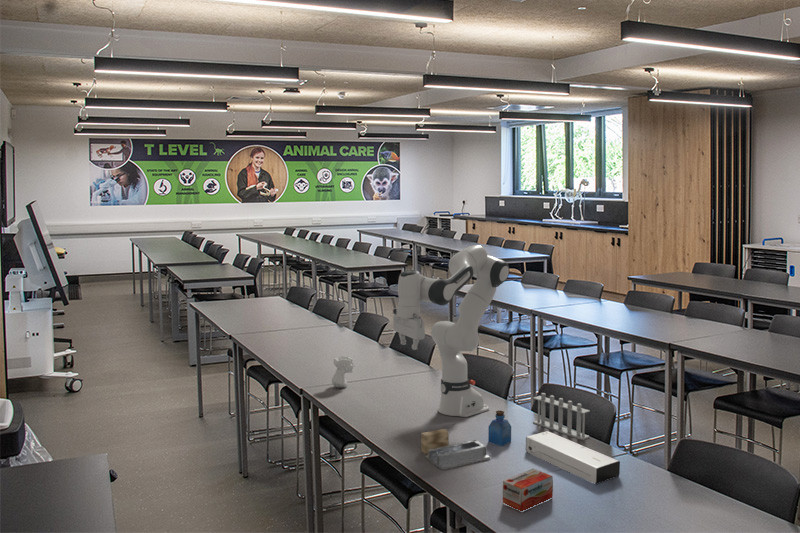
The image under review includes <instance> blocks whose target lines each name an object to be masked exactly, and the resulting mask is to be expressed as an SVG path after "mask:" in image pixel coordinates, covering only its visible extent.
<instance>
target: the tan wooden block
mask: <svg viewBox="0 0 800 533" xmlns="http://www.w3.org/2000/svg"><path fill="white" fill-rule="evenodd" d="M420 437H421V438H420V439H421V442H420V444H421V447H420V448H421V452H422V453H423V454H424V455H428V454H429V450H430V449H434V448H439V447H444V446H448V445H449V437H450V436H449V430H448V429H445V428H441V429H436V430H432V431H427V432H421V436H420Z"/></svg>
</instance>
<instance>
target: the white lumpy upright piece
mask: <svg viewBox="0 0 800 533" xmlns="http://www.w3.org/2000/svg"><path fill="white" fill-rule="evenodd" d="M333 365H334V366H335V367H336V370H335V373H334V375H333V376H332V378H331V384H332V385H333V387H335V388H347V387H348V382H347V380H346V378H345V375H346V373H347V374H351V373H353V371H354V367H355V364H354V362H353V358H352V357H349V356H346V355H341V356H338V357H337V358H336V357H334V358H333Z"/></svg>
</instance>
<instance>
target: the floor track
mask: <svg viewBox="0 0 800 533" xmlns="http://www.w3.org/2000/svg"><path fill="white" fill-rule="evenodd" d="M425 459H426V460H428V462H430V463H431V464H433V465H434V466H436V467H437V468H439V469H440V470H442V471H446V470H449V469H448V468H450V469H453V467H454V468H457V466H459V467H463V466H466V464H467V465H471V464H470V463H472V464H475V463H474V462H476V463H479V462H478V461H480V462H483V461H482V460H484V461H487V460H486V459H489V460H491V456H489V454H487V445H486V444H483V443H481V442H480V441H478V440H476V439H473V440H472V439H471V440H468V441H463V442H459V443H458V442H457V443H453V444H450V445H448V446H444V447H439V448H434V449H430V450H429V453H428V454H425ZM462 465H463V466H462ZM445 469H446V470H445Z"/></svg>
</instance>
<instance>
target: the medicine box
mask: <svg viewBox="0 0 800 533" xmlns="http://www.w3.org/2000/svg"><path fill="white" fill-rule="evenodd" d="M553 478H554V477H553V475H550V474H548V473H546V472H543V471H541V470H539V469H535V468H530V469H529V470H526V471H523V472H521V473H519V474H516V475H514V476H512V477H508V478H506V479H504V480H502V504H503V503H505V504H507V505H509V506H511V507H513V508H515V509H518V510H520V511H523V510H526V509H528V508H530V507H533V506H534V505H537V504H539V503H541V502H544V501H546V500H548V499H550V498H552V499H553V495H554V494H553V493H554V480H553Z"/></svg>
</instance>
